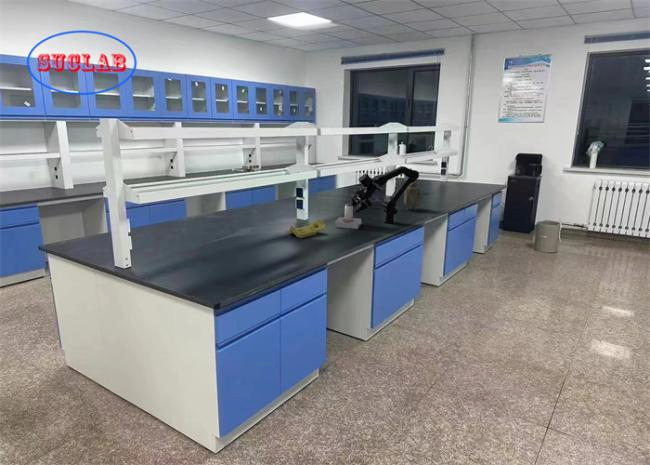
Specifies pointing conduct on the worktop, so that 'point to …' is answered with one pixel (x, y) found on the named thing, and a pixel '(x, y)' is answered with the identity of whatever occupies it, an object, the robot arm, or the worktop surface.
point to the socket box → (347, 223)
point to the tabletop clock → (412, 196)
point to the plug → (349, 212)
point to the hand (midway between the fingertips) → (352, 210)
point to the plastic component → (308, 229)
